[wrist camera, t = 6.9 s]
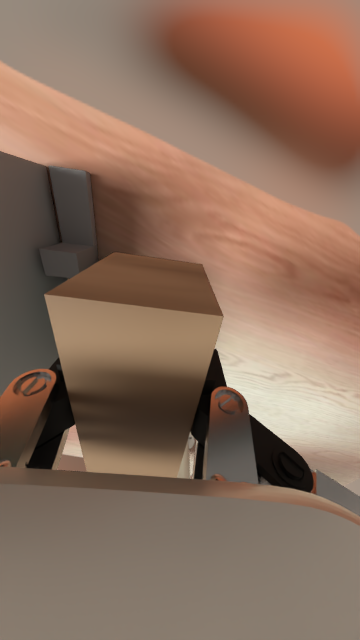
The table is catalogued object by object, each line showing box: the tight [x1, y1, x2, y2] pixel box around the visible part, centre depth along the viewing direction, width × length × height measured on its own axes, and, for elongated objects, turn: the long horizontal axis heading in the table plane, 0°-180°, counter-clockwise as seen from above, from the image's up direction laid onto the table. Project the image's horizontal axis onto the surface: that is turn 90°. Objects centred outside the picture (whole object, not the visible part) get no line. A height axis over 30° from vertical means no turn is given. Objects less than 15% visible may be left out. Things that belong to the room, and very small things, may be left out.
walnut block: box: [44, 252, 224, 478], centre depth 9 cm, size 9×4×5 cm, turn 172°
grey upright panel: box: [0, 151, 99, 396], centre depth 23 cm, size 34×7×18 cm, turn 173°
